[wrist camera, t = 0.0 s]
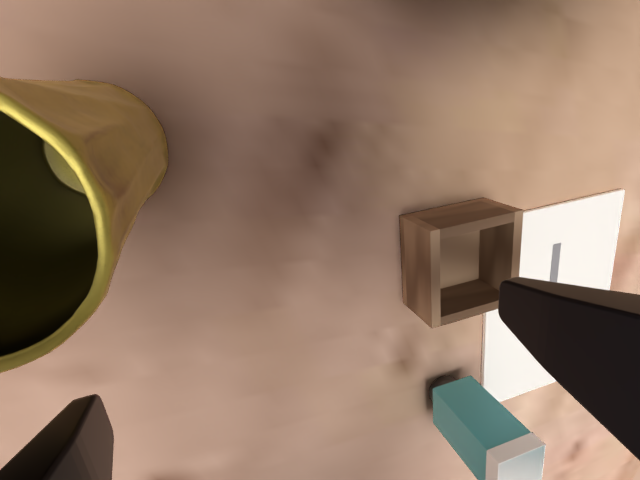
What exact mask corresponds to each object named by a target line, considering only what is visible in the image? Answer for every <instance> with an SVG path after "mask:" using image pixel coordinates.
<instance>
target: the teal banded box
mask: <svg viewBox="0 0 640 480" xmlns="http://www.w3.org/2000/svg"><path fill="white" fill-rule="evenodd" d="M429 397H430V399H431V400H432V401H433V423H434V425H435V426H436V427H437V428H438V430H439V431H440V432H441V433H442V435H443V436H444V437H445V438H446V440H447V441H448V442H449V444H450V445H451V446H452V447H453V449H454V450H455V451H456V452H457V454H458V455H459V456H460V458H461V459H462V460H463V461H464V463H465V464H466V465H467V466H468V468H469V469H470V470H471V472H472V473H473V474H474V475H475V477H476V478H477V479H478V480H542V473H543V464H544V455H545V446H546V444H545V443H544V442H543V441H541V440H540V439H539V438H538V437H537V436H536V435H535V434H534V433H533V432H530V431H529V430H528V429H527V428H526V427H525V426H524V425H523V424H522V423H521V422H520V421H518V420H517V419H516V418H515V417H514V416H513V415H512V414H511V413H510V412H509V411H508V410H507V409H506V408H505V407H504V406H503V405H502V404H500V403H499V402H498V401H497V400H496V399H495V398H494V397H493V396H492V395H491V394H490V393H489V392H488V391H487V390H486V389H485V388H483V387H482V386H481V385H480V384H479V383H478V382H477V381H476V380H475V379H474V378H473V377H472V376H471V375H470V376H468V377H465V378H462V379H459V380H455V379H454V378H453V377H451V376H442V377H440V378H438V379H437V380H435V381H434V382H433V384H432V385H431V387H430V389H429Z"/></svg>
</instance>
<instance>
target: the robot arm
mask: <svg viewBox="0 0 640 480" xmlns="http://www.w3.org/2000/svg"><path fill="white" fill-rule="evenodd" d="M498 313H499V316H500V318H501V320H502V321H503V323H504V324H505V325H506V326H507V327H508V328H509V329H510V331H511V332H512V333H513V334H514V335H515V336H516V338H517V339H518V340H519V341H520V342H521V343H522V344H523V346H524V347H525V348H526V349H527V350H528V351H529V352H530V354H531V355H532V356H533V357H534V358H535V359H536V360H537V362H538V363H539V364H540V365H541V366H542V367H543V368H544V369H545V370H546V371H547V372H548V373H549V374H550V375H551V376H552V377H553V378H554V379H555V380H556V381H557V382H558V383H559V384H560V385H561V386H562V387H563V388H564V389H565V390H567V391H568V392H569V393H570V394H571V395H572V396H573V397H574V398H575V399H576V400H577V401H578V402H579V403H580V404H581V405H582V406H583V407H584V408H585V409H586V410H587V411H588V412H589V413H591V414H592V415H593V416H594V417H595V418H596V419H597V420H598V421H599V422H600V423H601V424H602V425H603V426H604V427H605V428H606V429H607V430H608V431H609V432H610V433H611V434H612V435H613V436H615V437H616V438H617V439H618V440H619V441H620V442H621V443H622V444H623V445H624V446H625V447H626V448H627V449H628V450H629V451H630V452H631V453H632V454H633V455H634V456H635V457H636V458H638V459H639V460H640V295H637V294H631V293H624V292H617V291H611V290H604V289H597V288H591V287H584V286H577V285H570V284H564V283H557V282H550V281H544V280H537V279H530V278H524V277H513V278H510V279H506V280H503V281H502V282H501V283H500V286H499V302H498ZM113 444H114V436H113V430H112V426H111V423H110V421H109V418H108V415H107V413H106V410H105V407H104V405H103V402H102V400H101V398H100V396H99V395H97V394H93V395H89V396H86V397H82V398H78V399H75V400H73V401H72V402H71V403H70V404H68V405H67V406H66V407H65V408H64V409H63V410H62V411H61V412H60V413H59V414H58V415H57V416H56V417H55V418H54V419H53V420H52V421H51V422H50V423H49V424H48V425H47V426H45V427H44V428H43V429H42V430H41V431H40V432H39V433H38V434H37V435H36V436H35V437H34V438H33V439H32V440H31V441H30V442H29V443H28V444H27V445H26V446H25V447H24V448H23V449H21V450H20V451H19V452H18V453H17V454H16V455H15V456H14V457H13V458H12V459H11V460H10V461H9V462H8V463H7V464H6V465H5V466H4V467H3V468H2V469H1V470H0V480H112V464H113Z"/></svg>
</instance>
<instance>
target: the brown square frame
mask: <svg viewBox="0 0 640 480" xmlns="http://www.w3.org/2000/svg"><path fill="white" fill-rule="evenodd" d="M399 218H400V241H401V263H402V285H403V303H404V304H405V305H406V306H407V307H409V308H410V309H411V310H412V311H413V312H414V313H415V314H416V315H417V316H419V317H420V318H421V319H422V320H423V321H424V322H425V323H426V324H427V325H429V326H430V327H431V328H436V327H439V326H442V325H446V324H449V323H452V322H456V321H459V320H462V319H466V318H469V317H472V316H476V315H479V314H482V313H486V312H489V311H493V310H496V309H498V302H499V286H500V283H501V282H502V281H503V280H506V279H510V278H513V277H519V269H520V254H521V239H522V224H523V210H522V209H518V208H515V207H512V206H509V205H505V204H502V203H499V202H496V201H493V200H489V199H486V198H479V199H475V200H470V201H465V202H461V203H456V204H451V205H447V206H442V207H437V208H433V209H428V210H423V211H419V212H414V213H409V214H404V215H400V216H399Z"/></svg>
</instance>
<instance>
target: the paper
mask: <svg viewBox="0 0 640 480" xmlns="http://www.w3.org/2000/svg"><path fill="white" fill-rule="evenodd" d="M624 193H625V189H617V190H613V191H609V192H604V193H600V194H596V195H591V196H587V197H583V198H578V199H574V200H570V201H565V202H561V203H557V204H552V205H548V206H544V207H539V208H535V209H531V210H526V211H523V224H522V239H521V254H520V269H519V277H524V278H530V279H537V280H544V281H550V282H557V283H564V284H570V285H577V286H584V287H591V288H597V289H604V290H610V284H611V277H612V271H613V264H614V258H615V251H616V245H617V238H618V232H619V225H620V219H621V213H622V206H623V200H624ZM553 382H556V380H555V379H554V378H553V377H552V376H551V375H550V374H549V373H548V372H547V371H546V370H545V369H544V368H543V367H542V366H541V365H540V364H539V363H538V362H537V360H536V359H535V358H534V357H533V356H532V355H531V354H530V352H529V351H528V350H527V349H526V348H525V347H524V346H523V344H522V343H521V342H520V341H519V340H518V339H517V338H516V336H515V335H514V334H513V333H512V332H511V331H510V329H509V328H508V327H507V326H506V325H505V324H504V323H503V321H502V320H501V318H500V316H499V313H498V309H496V310H493V311H489V312H486V313H483V338H482V368H481V386H482V387H483V388H485V389H486V390H487V391H488V392H489V393H490V394H491V395H492V396H493V397H494V398H495V399H496V400H497V401H498V402H501V401H504V400H507V399H510V398H512V397H515V396H518V395H520V394H523V393H526V392H529V391H531V390H534V389H537V388H540V387H542V386H545V385H548V384H550V383H553Z"/></svg>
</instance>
